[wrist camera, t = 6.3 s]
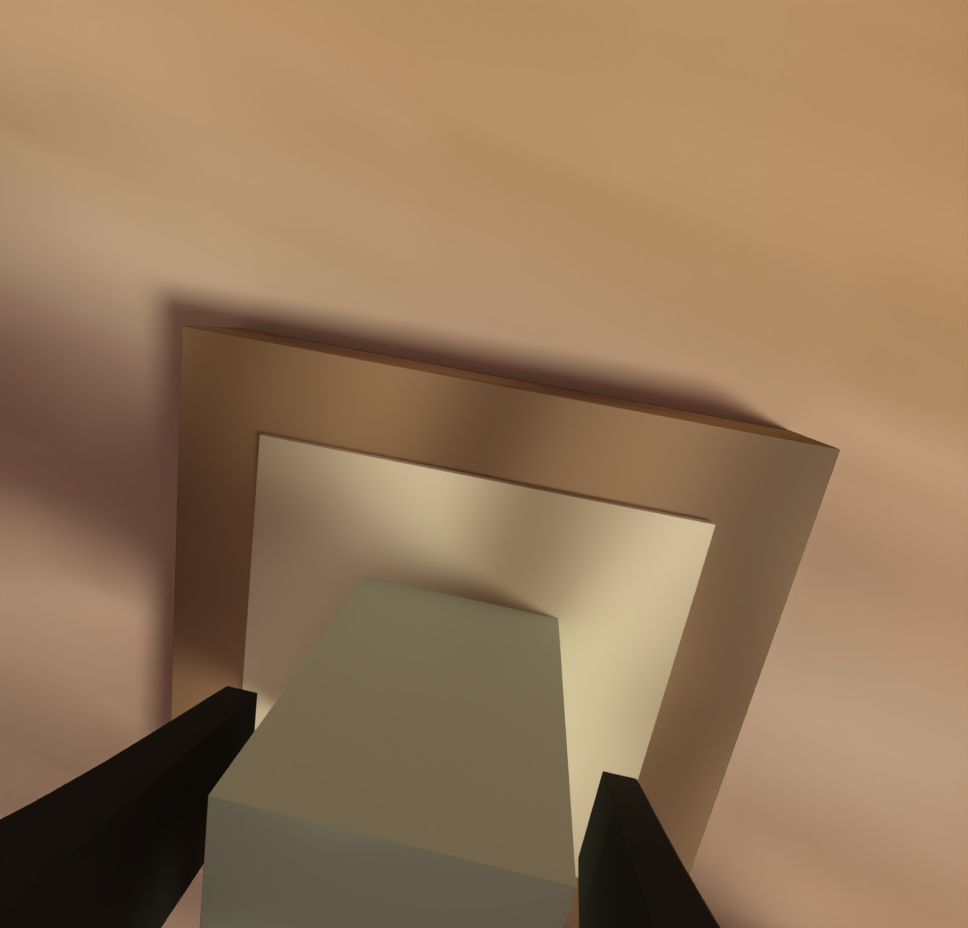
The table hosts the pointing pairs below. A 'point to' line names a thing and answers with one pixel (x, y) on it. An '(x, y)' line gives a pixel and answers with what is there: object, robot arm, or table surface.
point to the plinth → (492, 541)
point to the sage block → (403, 777)
